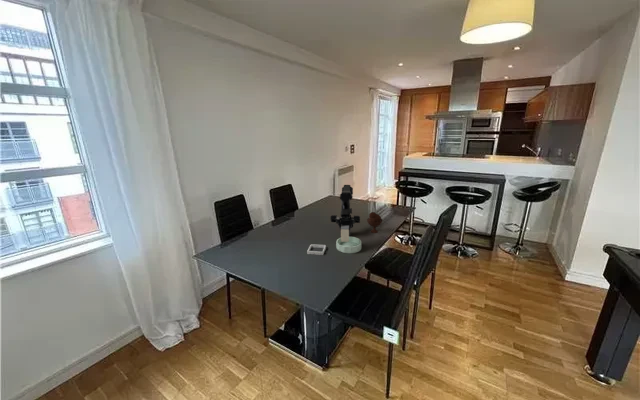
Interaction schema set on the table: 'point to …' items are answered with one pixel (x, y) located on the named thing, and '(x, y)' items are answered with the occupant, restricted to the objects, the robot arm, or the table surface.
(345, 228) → the cream grey rectangular block
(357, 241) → the serving bowl
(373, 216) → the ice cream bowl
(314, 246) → the square frame
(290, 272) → the table surface
